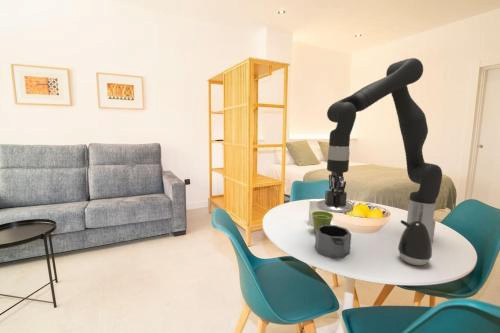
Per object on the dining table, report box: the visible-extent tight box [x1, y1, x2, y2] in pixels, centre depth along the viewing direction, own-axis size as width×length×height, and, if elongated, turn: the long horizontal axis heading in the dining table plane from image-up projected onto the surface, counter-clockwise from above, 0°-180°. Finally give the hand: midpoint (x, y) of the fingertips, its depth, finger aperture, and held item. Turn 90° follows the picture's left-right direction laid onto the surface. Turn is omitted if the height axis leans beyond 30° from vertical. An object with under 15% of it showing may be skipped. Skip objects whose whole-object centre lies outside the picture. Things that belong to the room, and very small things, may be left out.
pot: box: [314, 224, 352, 259], centre depth 101 cm, size 12×17×8 cm
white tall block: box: [308, 198, 328, 227], centre depth 129 cm, size 9×9×12 cm
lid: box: [317, 190, 354, 214], centre depth 99 cm, size 13×13×6 cm
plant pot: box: [312, 211, 334, 234], centre depth 118 cm, size 9×9×9 cm
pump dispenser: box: [397, 219, 433, 266], centre depth 93 cm, size 10×10×15 cm
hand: (335, 203), depth 99 cm, fingers closed on lid, 3 cm apart
